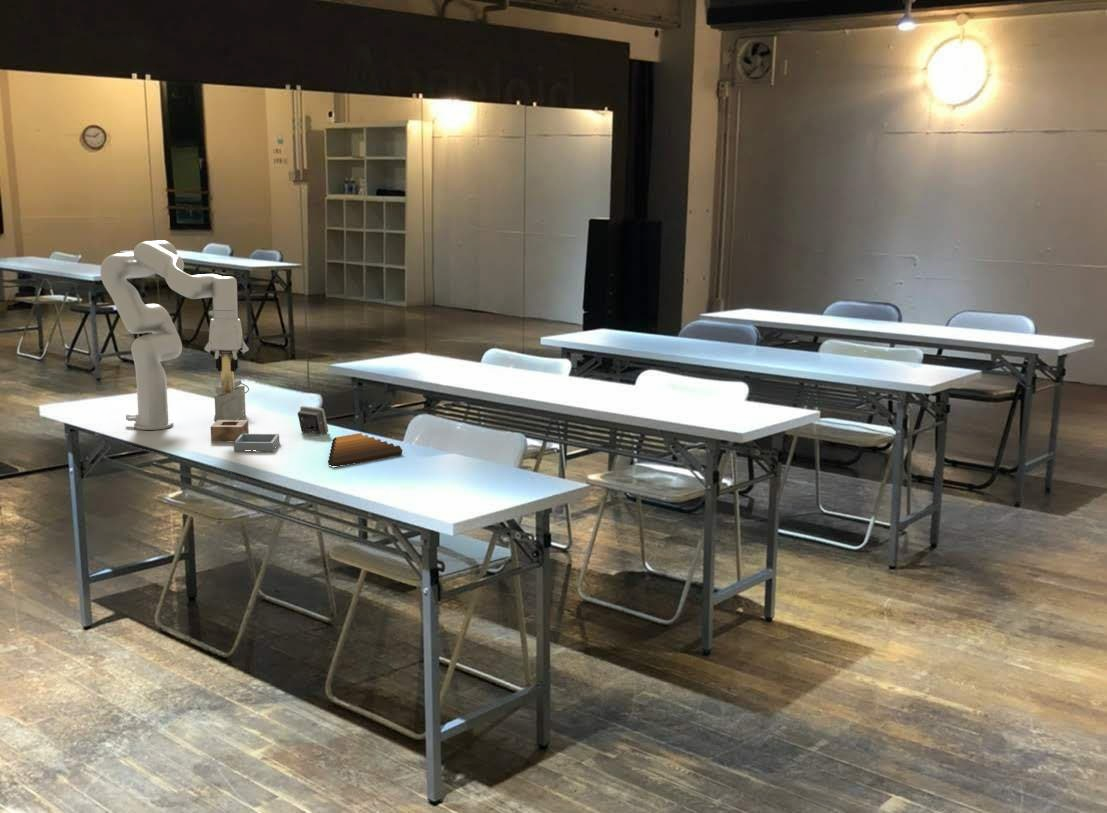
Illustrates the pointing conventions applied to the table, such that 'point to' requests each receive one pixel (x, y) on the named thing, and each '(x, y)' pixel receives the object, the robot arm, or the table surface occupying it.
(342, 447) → the pan flute
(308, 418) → the electrical switch
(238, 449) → the parts tray
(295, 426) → the table surface
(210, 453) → the table surface
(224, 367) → the brass pin
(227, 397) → the geiger counter
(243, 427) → the brown square frame
